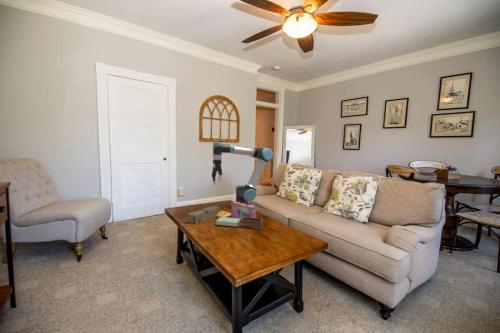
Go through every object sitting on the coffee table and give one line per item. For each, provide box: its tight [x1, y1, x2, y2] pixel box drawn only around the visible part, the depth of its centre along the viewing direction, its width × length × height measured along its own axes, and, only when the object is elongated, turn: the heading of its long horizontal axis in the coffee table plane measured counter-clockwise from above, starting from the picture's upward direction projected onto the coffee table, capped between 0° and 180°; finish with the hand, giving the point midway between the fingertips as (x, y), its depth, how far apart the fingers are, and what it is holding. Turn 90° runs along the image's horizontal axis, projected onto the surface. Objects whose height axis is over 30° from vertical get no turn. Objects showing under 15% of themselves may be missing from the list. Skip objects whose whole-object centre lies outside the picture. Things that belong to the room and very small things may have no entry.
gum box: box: [230, 200, 257, 221], centre depth 193 cm, size 24×8×14 cm, turn 49°
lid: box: [215, 216, 241, 227], centre depth 179 cm, size 10×17×4 cm, turn 77°
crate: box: [240, 217, 264, 230], centre depth 174 cm, size 7×16×6 cm, turn 77°
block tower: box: [187, 205, 220, 224], centre depth 192 cm, size 8×8×29 cm
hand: (217, 183), depth 200 cm, fingers open, 13 cm apart
